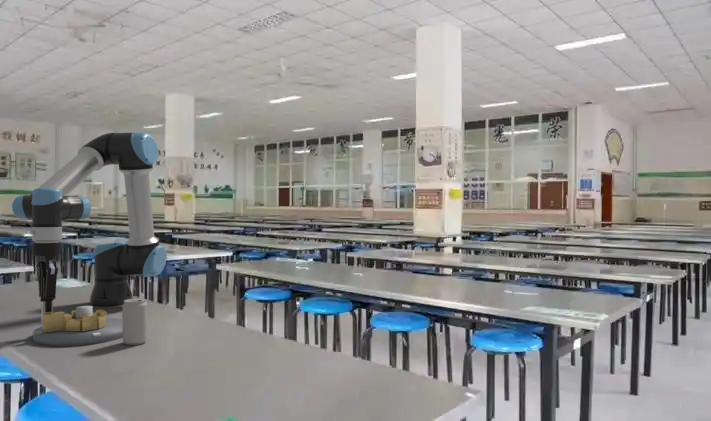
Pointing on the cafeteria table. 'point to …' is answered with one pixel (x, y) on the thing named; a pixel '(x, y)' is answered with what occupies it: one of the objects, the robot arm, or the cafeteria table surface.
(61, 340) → the flange
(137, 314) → the beverage can
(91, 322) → the ring nut
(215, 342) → the cafeteria table surface
